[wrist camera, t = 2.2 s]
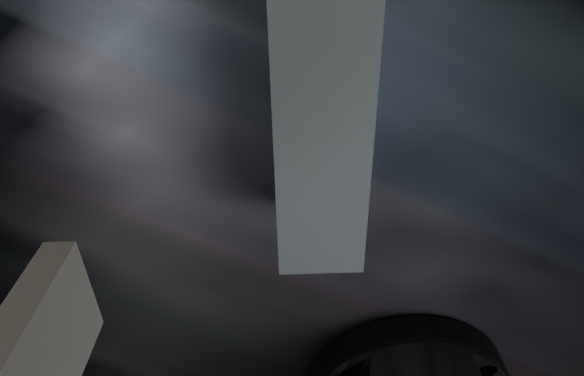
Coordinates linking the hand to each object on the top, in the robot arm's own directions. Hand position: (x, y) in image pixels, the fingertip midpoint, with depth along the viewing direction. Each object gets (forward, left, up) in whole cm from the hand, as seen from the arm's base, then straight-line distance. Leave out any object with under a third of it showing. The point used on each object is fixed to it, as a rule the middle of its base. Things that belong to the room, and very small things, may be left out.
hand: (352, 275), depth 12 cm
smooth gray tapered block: (+2, 0, -14) cm, 14 cm away
